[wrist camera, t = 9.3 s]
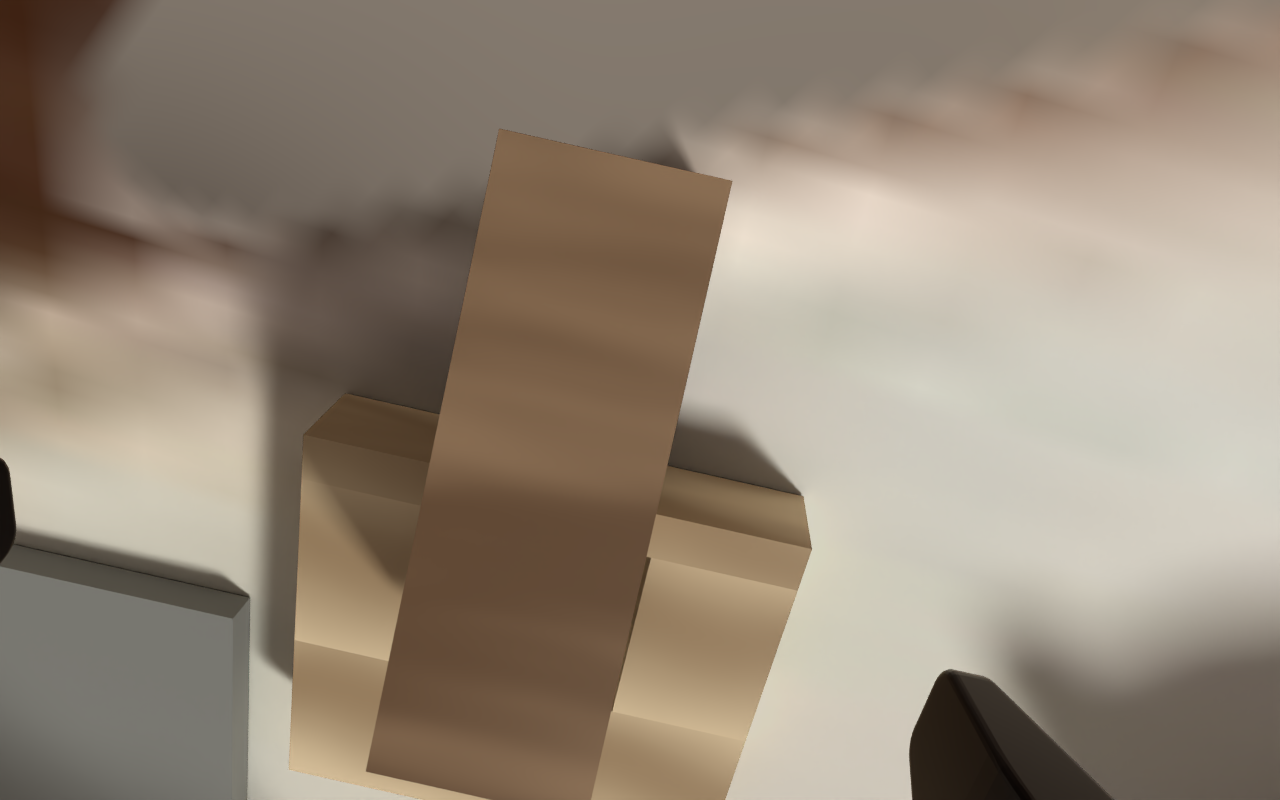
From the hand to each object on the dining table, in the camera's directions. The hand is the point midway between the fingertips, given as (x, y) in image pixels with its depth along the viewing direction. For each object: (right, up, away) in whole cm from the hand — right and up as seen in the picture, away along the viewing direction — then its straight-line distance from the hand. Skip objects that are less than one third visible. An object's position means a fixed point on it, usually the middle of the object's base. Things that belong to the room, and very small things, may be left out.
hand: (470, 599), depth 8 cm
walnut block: (0, +1, +7) cm, 7 cm away
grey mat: (-15, -7, +15) cm, 22 cm away
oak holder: (-1, -3, +12) cm, 12 cm away
